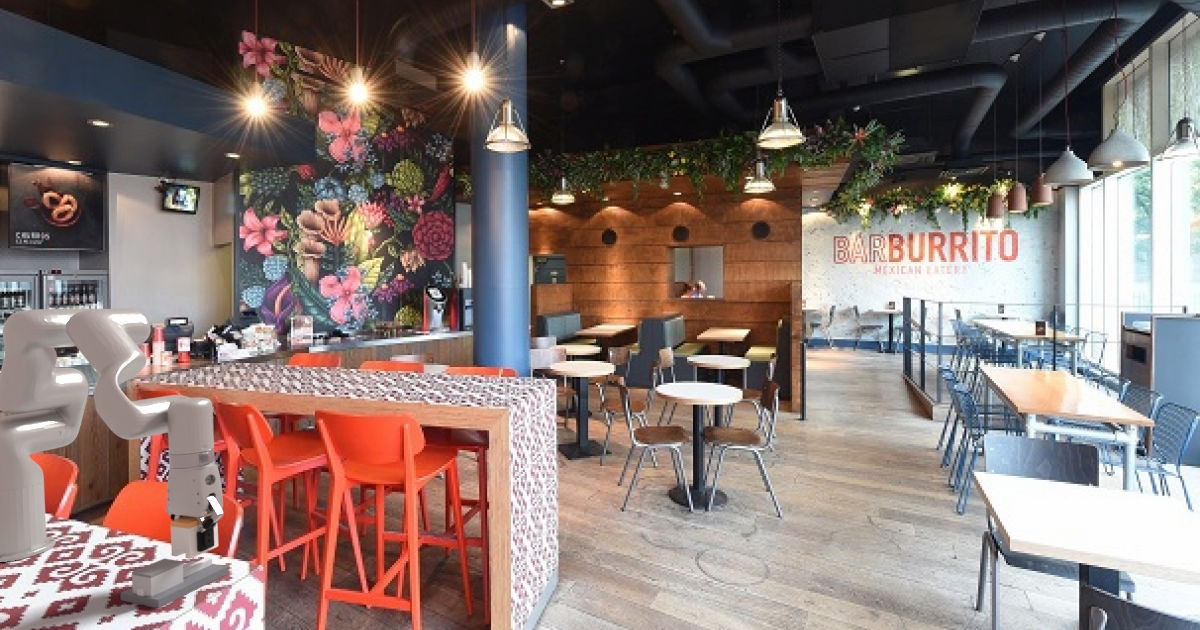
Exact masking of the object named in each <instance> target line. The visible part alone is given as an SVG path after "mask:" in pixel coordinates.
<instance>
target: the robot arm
mask: <svg viewBox="0 0 1200 630" xmlns="http://www.w3.org/2000/svg"><path fill="white" fill-rule="evenodd" d="M151 331H152V330H151V324H150V322H149V319H148V318H147V317H146V316H145V314H143V313H142V312H140V311H139V310H137V309H133V308H45V309H43V308H42V309H41V308H40V309H39V308H38V309H26V310H25V309H24V310H19V311H16V312H14V313H12V314H11V315H10V316H8V318H7V319H5V321H4V324H3V328H2V339H3V344H4V346H3V347H4V358H3V360H2V361H3V362H2V365H1V370H0V411H1V412H2V413H6V414H12V415H6V416H1V417H0V562H6V563H8V562H7V561H11V562H15V560H16V561H20V560H23V559H24V560H25V559H27V558H31V557H34V556H38V555H39V554H41V553H42V554H43V553H44V552H47V551H49V550H50V549H52V548H53V547H54V546H56V541H57V540H56V537H55V538H54V537H52V536H47V523H46V503H45V502H46V501H45V480H44V479H45V478H44V472H43V468H42V467H41V466H40V465H39V464H38V463H37V462H35V460H33V459H32V458H31V456H30V455H33V454H36V453H41V452H46V451H50V450H54V449H58V448H63V447H66V446H69V445H70V444H71V443H73V442H75V440H76V439H77V437H78V435H79V432H80V429H81V425H82V420H83V417H84V415H85V414H84V412H85V409H86V405H87V402H88V396H89V383H88V380H87V377H86V376H85V374H84V372H82V371H81V370H79V369H77V368H73V367H56V365H57V360H58V359H57V358H58V354H57V351H56V349H55V348H65V347H66V348H70V347H76V348H77V350H78V351H79V352H80V353H81V355H82V356H83V357H84V358H85V359H86V361H87V362H88V364H90V366H91V367H92V369H94V371H95V373H97V374H98V378H97V381H96V382H95V383H96V384H95V386H94V390H93V401H94V407H95V410H96V413H97V414H98V416H99V417H100V418H101V420H102V421H103V422H104V423H105V424H106V426H107V427H108V429H110V431H111V432H112V433H114V434H115V435H116V436H117V437H119V438H121V439H124V440H138V439H144V438H148V437H151V436H156V435H160V434H167V435H168V436H167V437H168V462H169V463H168V465H169V470H168V477H167V485H166V486H167V488H166V490H167V491H166V498H167V499H166V501H167V503H166V504H167V505H166V507H165V509H164V510H165V512H166V513H167V515H168V516H169V517H170V519H171V521H173V520H175V519H178V518H181V517H184V516H187V517H196V520H197V524H198V528H199V532H197V551H198V552H202V551H204V550H206V549H209V548H211V547H213V546H214V527H216V523H218V522H219V520H220V519H222V518H223V516H224V514H225V513H224V511H223V508H224V499H223V489H222V488H223V487H222V480H221V476H220V470H219V467H218V465H217V463H216V462H215V438H214V412H213V411H214V410H213V409H214V407H213V403H212V401H211V399H210V398H208V397H207V398H206V397H189V396H186V395H181V394H171V395H165V396H158V397H151V398H145V399H139V400H133V401H131V399H130V398H128V396H127V395H126V394H125V393H124V391H122V388H121V387H120V385H122V384H123V383H125V382H127V381H128V380H130V379H132V378H133V377H135V376H136V375H138V374H139V373H140V372H141V371H142V370H143V369H144V367H145V366H146V364H147V356H146V354H145V353H144V351H142V349H141V348H140V347H139V345H141V344H143V343H145V342H146V341H147V340H148V339H149V338H150V334H151ZM55 367H56V368H55ZM205 512H207V514H206V513H205ZM205 517H207V518H208V519H207V521H206V522H205V523H204V519H203V518H205Z"/></svg>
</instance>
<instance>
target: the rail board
mask: <svg viewBox="0 0 1200 630" xmlns="http://www.w3.org/2000/svg"><path fill="white" fill-rule="evenodd" d="M228 574H229V565H224V564H223V565H221V564H215V563H213V558H210V557H205V558H203V559H200V560H190V561H189V562H187V563H184V562H183V561H182V560H181V561H180V560H175V559H171V558H162V559H160V560H157V561H155V562H153V563H150V564H148V565H146V566H143V567H141V568H138V569H136V570H134V571H132V572H131V583H132V585H131V586H132V587H130V588H128V589H126V590H123V591H121V592H120V601H121V602H127V603H132V604H137V605H141V606H142V605H143V606H148V607H152V608H158V609H159V608H162V607H163V606H165V605H168V604H170V603H171V602H172V603H173V602H175V600H178V599H180V598H182V597H184V596H185V595H188V594H190V593H192V592H194V591H196V590H198V589H200V588H202V587H204V586H206V585H208V584H210V583H212V582H214V581H216V580H218V579H221V578H222V577H224V576H226V575H228Z"/></svg>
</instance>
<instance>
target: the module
mask: <svg viewBox="0 0 1200 630" xmlns="http://www.w3.org/2000/svg"><path fill="white" fill-rule="evenodd" d="M205 513H206V514H207V511H205ZM203 519H204V523H205V522H206V521H207V519H208V518H207V517H205V518H203ZM218 528H219V527H218V522H217V523H216V527H214V546H213V547H211V548H209V549H206V550H204V551H202V552H198V551H197V532H199V528H198V524H197V520H196V517H187V516H184V517H181V518H178V519H175V520H173V521H172V520H171V521H170V542H171V543H170V544H171V547H170V548H171V556H172V557H178V556H180V555H183V554H185V559H189V560H190V559H192V558H195V557H198V556H200V555H201V554H204V553H206V552H208V551H211V550H213V549H215V548H217V547H219V533H218V532H219V531H218V530H219V529H218Z"/></svg>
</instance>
